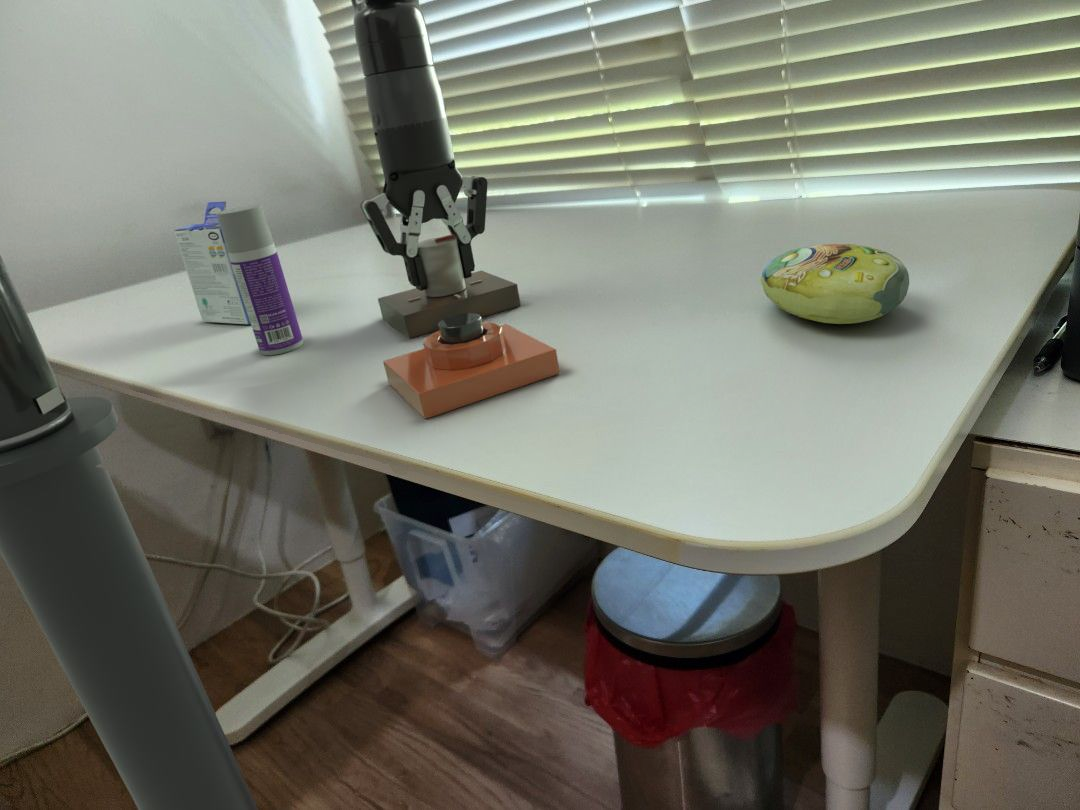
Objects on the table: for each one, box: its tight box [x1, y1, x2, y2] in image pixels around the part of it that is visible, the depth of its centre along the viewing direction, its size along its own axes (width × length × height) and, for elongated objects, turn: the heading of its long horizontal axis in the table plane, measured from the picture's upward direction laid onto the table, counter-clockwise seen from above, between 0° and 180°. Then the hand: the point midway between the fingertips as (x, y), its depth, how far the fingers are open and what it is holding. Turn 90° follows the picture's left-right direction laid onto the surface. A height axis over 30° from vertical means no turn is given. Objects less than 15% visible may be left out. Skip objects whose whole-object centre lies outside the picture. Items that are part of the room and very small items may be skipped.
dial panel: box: [377, 270, 521, 339], centre depth 83 cm, size 13×10×3 cm
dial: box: [417, 233, 466, 297], centre depth 82 cm, size 5×5×6 cm
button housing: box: [382, 321, 561, 420], centre depth 63 cm, size 12×10×4 cm
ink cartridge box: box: [173, 200, 251, 325], centre depth 94 cm, size 10×6×14 cm, turn 58°
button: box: [438, 313, 484, 345], centre depth 62 cm, size 4×4×2 cm
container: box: [216, 203, 304, 356], centre depth 79 cm, size 5×5×15 cm
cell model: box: [760, 243, 910, 325], centre depth 65 cm, size 11×8×15 cm
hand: (443, 282), depth 82 cm, fingers closed on dial, 4 cm apart
